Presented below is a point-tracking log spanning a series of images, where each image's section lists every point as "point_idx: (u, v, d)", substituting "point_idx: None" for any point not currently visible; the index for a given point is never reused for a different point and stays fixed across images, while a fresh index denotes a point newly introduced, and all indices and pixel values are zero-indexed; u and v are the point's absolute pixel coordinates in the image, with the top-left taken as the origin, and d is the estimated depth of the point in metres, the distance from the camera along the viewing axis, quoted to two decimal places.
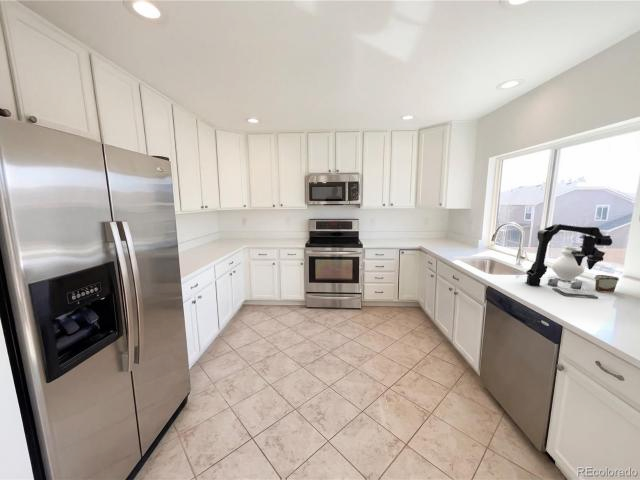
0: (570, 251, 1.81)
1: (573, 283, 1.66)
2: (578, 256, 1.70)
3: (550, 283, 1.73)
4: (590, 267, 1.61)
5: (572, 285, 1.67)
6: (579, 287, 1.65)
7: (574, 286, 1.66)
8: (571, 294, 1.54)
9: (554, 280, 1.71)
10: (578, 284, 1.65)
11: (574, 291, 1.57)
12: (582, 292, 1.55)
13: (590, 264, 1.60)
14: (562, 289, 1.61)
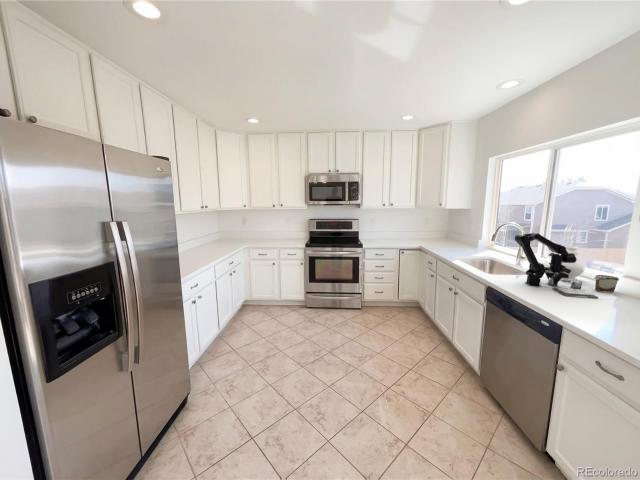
0: (570, 251, 1.81)
1: (573, 283, 1.66)
2: (549, 273, 1.76)
3: (550, 283, 1.73)
4: (555, 283, 1.70)
5: (572, 285, 1.67)
6: (579, 287, 1.65)
7: (574, 286, 1.66)
8: (571, 294, 1.54)
9: None
10: (578, 284, 1.65)
11: (574, 291, 1.57)
12: (582, 292, 1.55)
13: (555, 280, 1.70)
14: (562, 289, 1.61)
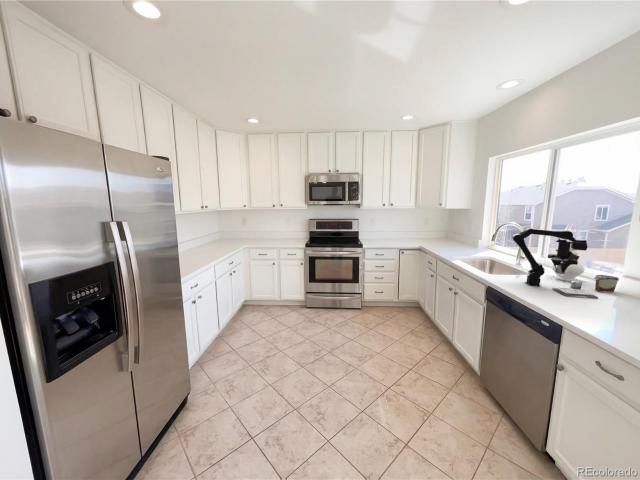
0: None
1: (573, 283, 1.66)
2: (556, 260, 1.69)
3: (557, 270, 1.66)
4: (563, 270, 1.63)
5: (572, 285, 1.67)
6: (579, 287, 1.65)
7: (574, 286, 1.66)
8: (571, 294, 1.54)
9: None
10: (578, 284, 1.65)
11: (574, 291, 1.57)
12: (582, 292, 1.55)
13: (563, 267, 1.62)
14: (562, 289, 1.61)
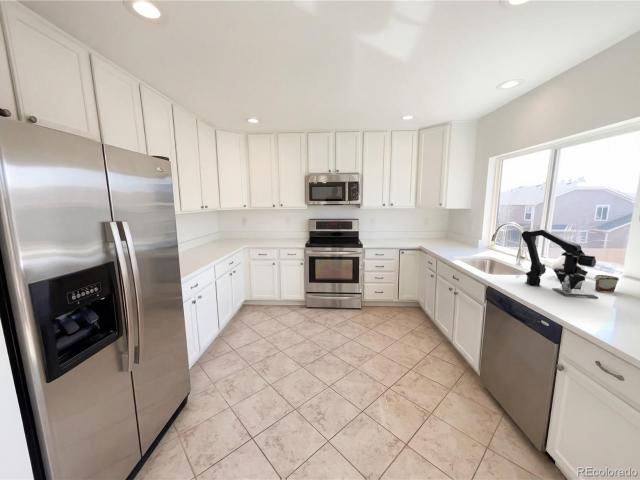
0: None
1: None
2: (560, 274, 1.63)
3: (564, 288, 1.58)
4: (572, 287, 1.53)
5: None
6: (579, 287, 1.65)
7: None
8: (571, 294, 1.54)
9: (568, 285, 1.56)
10: (578, 284, 1.65)
11: (574, 291, 1.57)
12: (582, 292, 1.55)
13: (572, 284, 1.52)
14: None
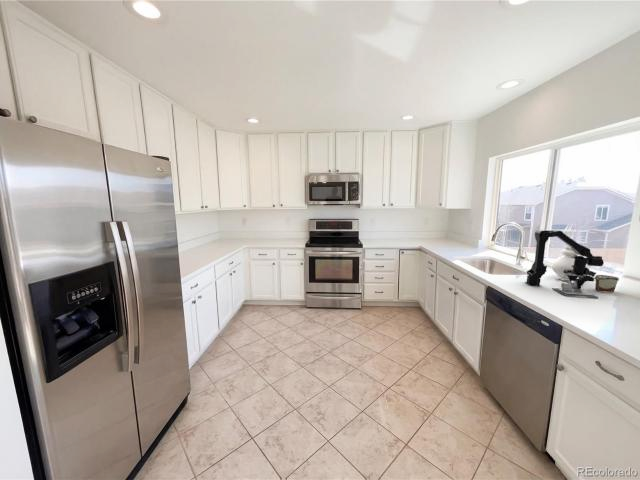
0: (570, 251, 1.81)
1: (573, 283, 1.66)
2: (572, 276, 1.69)
3: (564, 288, 1.58)
4: (579, 286, 1.64)
5: None
6: None
7: (574, 286, 1.66)
8: (571, 294, 1.54)
9: (568, 285, 1.56)
10: None
11: (574, 291, 1.57)
12: (582, 292, 1.55)
13: (579, 283, 1.63)
14: None
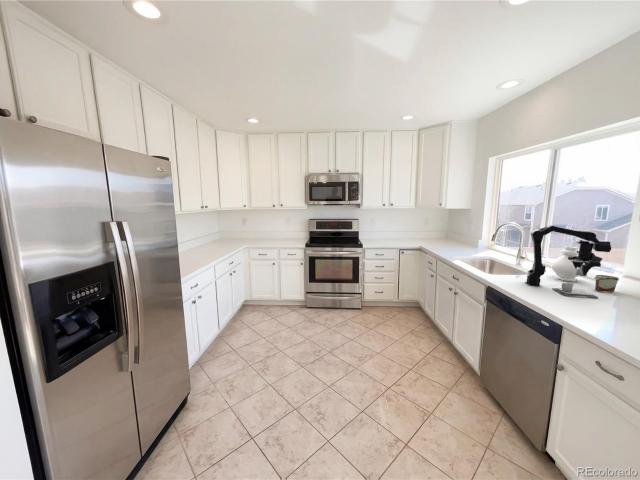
0: (570, 251, 1.81)
1: (579, 269, 1.61)
2: (577, 262, 1.64)
3: (564, 288, 1.58)
4: (585, 272, 1.58)
5: (577, 271, 1.61)
6: None
7: (580, 273, 1.60)
8: (571, 294, 1.54)
9: (569, 285, 1.56)
10: None
11: (574, 291, 1.57)
12: (582, 292, 1.55)
13: (585, 269, 1.57)
14: None
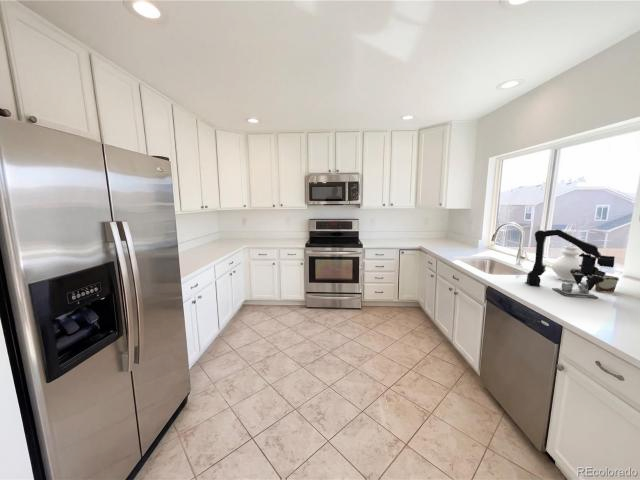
0: (570, 251, 1.81)
1: (580, 286, 1.56)
2: (577, 275, 1.60)
3: (565, 289, 1.57)
4: (590, 288, 1.51)
5: (579, 288, 1.56)
6: (587, 290, 1.54)
7: (582, 289, 1.55)
8: (571, 294, 1.54)
9: (570, 285, 1.56)
10: (586, 287, 1.54)
11: (574, 291, 1.57)
12: None
13: (590, 285, 1.50)
14: None
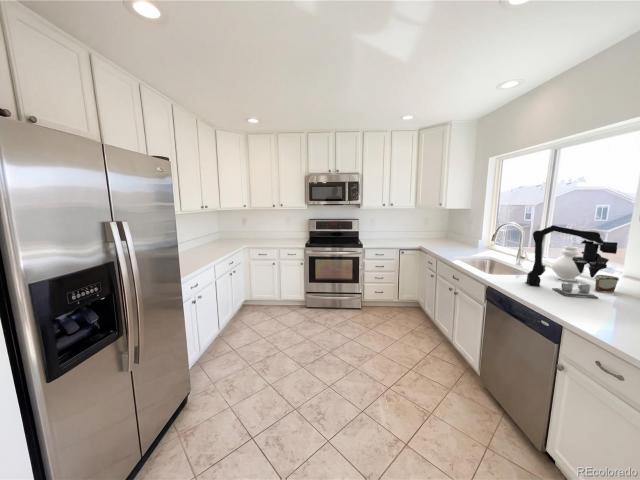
0: (570, 251, 1.81)
1: (580, 286, 1.56)
2: (579, 263, 1.59)
3: (566, 289, 1.57)
4: (592, 275, 1.49)
5: (579, 288, 1.56)
6: (587, 290, 1.54)
7: (582, 289, 1.55)
8: (571, 294, 1.54)
9: (571, 285, 1.56)
10: (586, 287, 1.54)
11: (574, 291, 1.57)
12: None
13: (592, 272, 1.49)
14: None
